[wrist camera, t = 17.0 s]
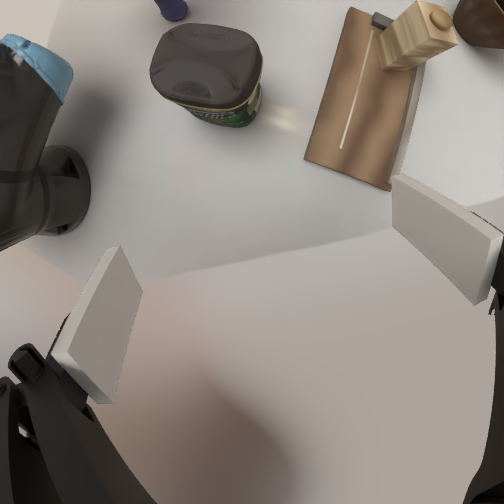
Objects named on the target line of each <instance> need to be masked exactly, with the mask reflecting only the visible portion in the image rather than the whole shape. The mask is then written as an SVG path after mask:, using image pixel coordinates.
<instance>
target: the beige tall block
mask: <svg viewBox="0 0 504 504" xmlns="http://www.w3.org/2000/svg"><path fill="white" fill-rule="evenodd" d="M375 43H376V47H377V51H378V55H379V59H380V63H381V67H382V70H394V71H405V72H406V71H408V70H409V69H411V68H413V67H415V66H417V65H419V64H421V63H422V62H424V61H426V60H428V59H430V58H432V57H434V56H436V55H438V54H440V53H442V52H444V51H446V50H448V49H450V48H452V47H454V46H456V45H458V41H457V38H456V35H455V32H454V29H453V21H452V19H451V17H450V16H449V14H448V13H447V11H446V8H445V7H442V6H438V5H435V4H431V3H427V2H424V1H419V0H416V1H415V2H414V3H413V4H412V5H411V6H410V7H409V8H408V9H406V10H405V11H404V12H403V13H402V14H401V15H400V16H399V17H398V18H397V19H396V20H395V21H394V22H393V23H392V24H391V25H389V26H388V27H387V28H386V29H385V30H384V31H383V32H382V33H381V34H380V35H379V36H378V37H377V38H376V39H375Z"/></svg>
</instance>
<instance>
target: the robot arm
mask: <svg viewBox="0 0 504 504" xmlns="http://www.w3.org/2000/svg"><path fill="white" fill-rule="evenodd" d="M72 79H73V69H72V67H71V66H70V64H69V63H68V62H66V61H65V60H64V59H62V58H61V57H60V56H58V55H56V54H55V53H53V52H51V51H50V50H48V49H46V48H44V47H42V46H40V45H38V44H36V43H33V42H31V41H29V40H26V39H25V38H23V37H20V36H17V35H14V34H7V35H5V36H4V38H3V39H1V40H0V251H2V250H4V249H6V248H8V247H10V246H12V245H14V244H16V243H18V242H20V241H23V240H25V239H27V238H29V237H31V236H33V235H43V236H59V235H63V234H65V233H67V232H70V231H72V230H73V229H75V228H76V227H77V226H78V225H79V224H80V223H81V221H82V220H83V218H84V216H85V214H86V212H87V209H88V206H89V201H90V179H89V174H88V171H87V168H86V166H85V164H84V162H83V160H82V159H81V157H80V156H79V155H78V154H77V153H76V152H75V151H74V150H72V149H70V148H68V147H65V146H49V147H46V148H44V146H45V144H46V141H47V138H48V135H49V133H50V130H51V128H52V125H53V123H54V120H55V118H56V116H57V113H58V111H59V109H60V106H62V105H63V104H64V98H65V95H66V93H67V91H68V88H69V86H70V84H71V82H72ZM391 181H392V227H393V228H394V229H396V230H397V231H398V232H399V233H400V234H401V235H402V236H403V237H405V238H406V239H407V240H408V241H409V242H410V243H411V244H412V245H413V246H415V247H416V248H417V249H418V250H419V251H420V252H421V253H422V254H423V255H424V256H425V257H426V258H428V259H429V260H430V261H431V262H432V263H433V264H434V265H435V266H436V267H437V268H438V269H439V270H440V271H441V272H442V273H443V274H444V275H445V276H446V277H447V278H448V279H449V280H450V281H451V282H452V283H453V284H454V285H455V286H456V287H457V288H458V289H459V290H460V291H461V292H462V293H463V294H464V295H465V297H466V298H467V299H468V300H469V301H470V302H471V303H472V304H473V305H474V306H475V305H477V304H478V303H480V302H482V301H484V300H486V299H487V297H488V293H489V290H490V287H491V286H492V287H493V288H494V289H495V290H496V293H495V295H494V298H493V301H492V304H491V307H490V310H489V314H490V315H491V313H492V310H493V309H494V308H495V314H494V315H495V323H496V324H495V325H496V367H495V384H494V396H493V405H492V413H491V420H490V426H489V432H488V437H487V442H486V448H485V452H484V456H483V460H482V463H481V466H480V468H479V470H478V471H477V473H476V474H475V476H474V478H473V479H472V481H471V483H470V485H469V488H468V490H467V493H466V496H465V499H464V501H463V504H504V233H503V232H502V231H500V230H499V229H497V228H496V227H495V226H493V225H492V224H490V223H488V222H487V221H486V220H484V219H482V218H481V217H480V216H478V215H477V214H475V213H474V212H471V211H469V210H467V209H465V208H464V207H462V206H461V205H459V204H457V203H456V202H454V201H452V200H451V199H449V198H447V197H446V196H444V195H442V194H441V193H439V192H437V191H435V190H433V189H432V188H430V187H428V186H426V185H424V184H423V183H421V182H419V181H417V180H415V179H413V178H411V177H409V176H407V175H405V174H399V175H394V176H391ZM142 293H143V291H142V289H141V287H140V285H139V283H138V281H137V279H136V277H135V275H134V273H133V271H132V269H131V267H130V265H129V263H128V261H127V259H126V257H125V255H124V252H123V250H122V248H121V246H120V245H118V246H115V247H112V248H109V249H107V250H106V251H105V253H104V254H103V256H102V258H101V259H100V261H99V263H98V264H97V266H96V268H95V269H94V271H93V273H92V274H91V276H90V278H89V280H88V281H87V283H86V285H85V287H84V289H83V290H82V292H81V294H80V296H79V298H78V299H77V301H76V303H75V305H74V307H73V309H72V311H71V312H70V313H69V315H68V316H67V317H66V318H65V319H64V321H63V323H62V326H61V327H60V330H59V331H58V333H57V335H56V336H57V338H55V340H54V342H53V344H52V346H51V348H50V350H49V352H48V355H47V357H46V359H44V358H43V357H42V355H41V354H40V353H39V352H38V351H37V349H36V348H35V347H34V346H33V345H32V344H30V343H27V344H24V345H22V346H21V347H19V348H18V349H17V350H16V351H15V352H14V353H13V355H12V356H11V358H10V360H9V362H8V368H9V369H10V370H11V371H12V373H13V374H14V375H15V376H16V377H17V378H18V379H19V380H20V381H21V383H19V384H17V385H15V384H14V383H13V382H12V380H10V378H9V377H6V376H5V377H2V378H0V504H157V503H156V502H155V501H154V500H153V499H152V497H151V496H150V495H149V494H148V493H147V491H146V490H145V489H144V487H143V486H142V485H141V484H140V482H139V481H138V480H137V478H136V477H135V476H134V474H133V473H132V472H131V470H130V469H129V468H128V466H127V465H126V463H125V462H124V460H123V459H122V458H121V456H120V455H119V453H118V452H117V450H116V448H115V447H114V445H113V444H112V442H111V441H110V439H109V437H108V436H107V434H106V433H105V431H104V429H103V428H102V426H101V424H100V422H99V421H98V419H97V417H96V415H95V414H94V412H93V410H92V408H91V407H90V406H89V405H88V404H87V403H86V401H87V397H88V395H89V396H90V397H91V398H92V399H93V400H94V401H95V402H96V403H97V404H111V403H114V401H115V397H116V392H117V387H118V382H119V378H120V374H121V369H122V365H123V361H124V357H125V353H126V349H127V345H128V342H129V338H130V334H131V331H132V326H133V323H134V320H135V316H136V312H137V309H138V306H139V303H140V299H141V296H142ZM19 426H20V427H21V428H22V429H23V430H25V431H26V432H27V437H24V436H23V435H21V434H20V433H19V428H18V427H19Z"/></svg>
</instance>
